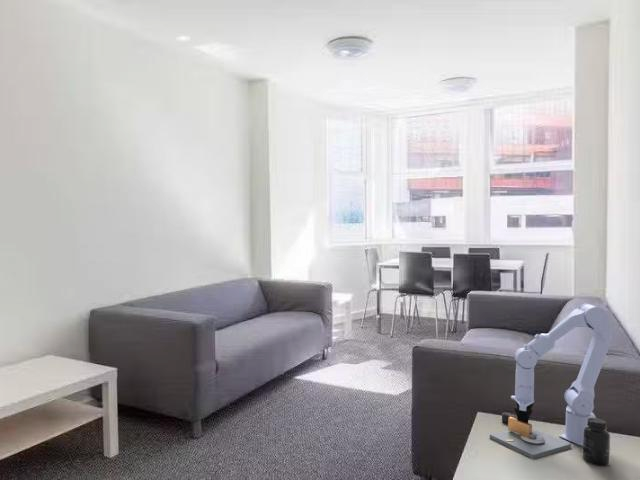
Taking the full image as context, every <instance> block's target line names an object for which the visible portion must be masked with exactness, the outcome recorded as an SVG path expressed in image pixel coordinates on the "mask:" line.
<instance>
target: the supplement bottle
mask: <svg viewBox="0 0 640 480" xmlns="http://www.w3.org/2000/svg"><path fill="white" fill-rule="evenodd" d="M607 424H608V423H607V421H605V420H604V419H601V418H597V417H596V418H588V423H587V425H588V427H586V428H585V429H584V431H583V446H582V458H583V459H582V460H584V462H586V463H589V464H591V465H594V466H598V467H606V466H608V465H609V464H610V451H611V449H610V448H611V434H610V432H609V431H608V430H607V429H608V427H607Z"/></svg>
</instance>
